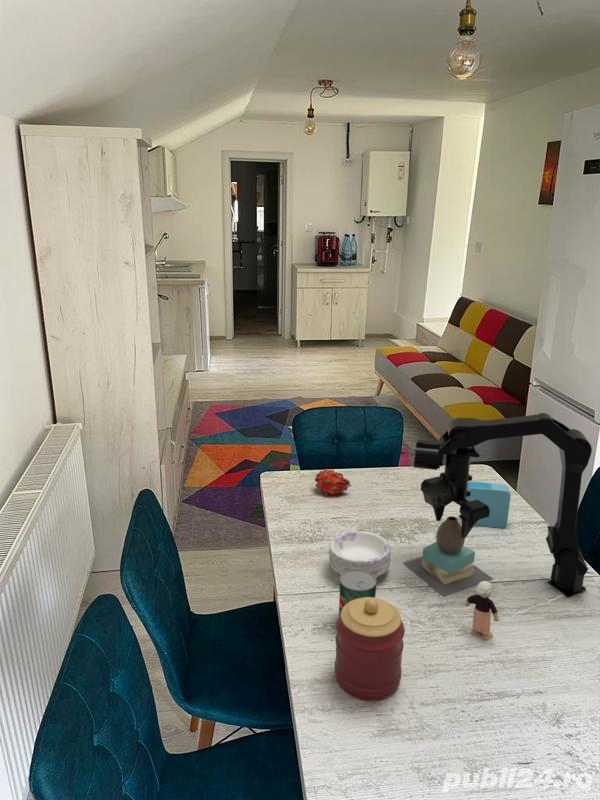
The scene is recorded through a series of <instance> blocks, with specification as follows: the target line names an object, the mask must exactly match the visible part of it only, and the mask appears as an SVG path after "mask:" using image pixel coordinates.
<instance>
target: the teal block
mask: <svg viewBox="0 0 600 800" xmlns="http://www.w3.org/2000/svg"><path fill="white" fill-rule="evenodd" d="M422 556H423V558H422V559H424V560H425V561H427V562H429V563H431V564H433V565H435V566H436V567H438V568H440V569H442V570H444V571H445V572H447V573H449V574H451V575H452V574H454V573H456V572H458V571H459V570H461V569H463V568H464V567H466V566H468V565H470V564H471V563H472V564H474V563H475V556H476V550H473V549H471V548H469V547H466V546H465V545H463V547H462V549H461V550H460V551H459V552H457V553H455V554H447V553H445V552H443V551H442V550H441V549H440V548H439V547H438V545H437V541H435V542H433V543H431V544H429V545H427V546H426V547H423V548H422Z"/></svg>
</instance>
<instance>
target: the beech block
mask: <svg viewBox="0 0 600 800" xmlns="http://www.w3.org/2000/svg"><path fill="white" fill-rule="evenodd" d="M421 557H422V558H423V555H421ZM474 565H475V564H474V563H471V564H470V565H468V566H466V567H464V568H463V569H461V570H459V571H458V572H456V573H454V574H452V575H451V574H449V573H447V572H445V571H444V570H442V569H440V568H438V567H436V566H435V565H433V564H431V563H429V562H427V561H425V560H424V559H422V567H423V568H424V569H426V570H427V571H428V572H429V573H431V574H432V575H433V576H434V577H436V578H437V579H438V580H439V581H441V582H442V583H443V584H444V585H446V584H449V583H452V582H455V581H458V580H461V579H464V578H467V577H470V576H473V571H474Z"/></svg>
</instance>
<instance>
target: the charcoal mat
mask: <svg viewBox="0 0 600 800" xmlns="http://www.w3.org/2000/svg"><path fill="white" fill-rule="evenodd" d="M402 564H403V565H404V566H405V567H407V568H408V570H409V571H411V572H412V573H414V574H415V575H416V576H418V577H419V578H420V579H421V580H422V581H423V582H425V584H426V585H428V586H429V587H430V588H432V589H433V590H434V591H435V592H437V593H438V594H439V595H440V596H442V597H443V598H444V597H448V596H451V595H453V594H455V593H459V592H462V591H463V590H464V591H465V590H466V589H469V588H473V587H475V586H476V587H477V585H478V584H479V583H480V582H482V581H488V582H490V581H494V577H491V575H488V574H487V573H486V572H485V571H483V570H481V568H479V567H477V566H476V565H475V564H474V571H473V576H470V577H467V578H464V579H461V580H458V581H455V582H452V583H449V584H446V585H444V584H443V583H442V582H441V581H439V580H438V579H437V578H436V577H434V576H433V575H432V574H431V573H429V572H428V571H427V570H426V569H424V568H423V567H422V556H420V557H417V558H414V559H410V560H407V561H403V562H402Z"/></svg>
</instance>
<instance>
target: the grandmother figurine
mask: <svg viewBox="0 0 600 800" xmlns="http://www.w3.org/2000/svg"><path fill="white" fill-rule="evenodd" d="M474 590H475V592H476V594H473V595H470V596H468V597H467V598H466V600H465V602H464V606H465V607H469V606H470V605H471V604H472V605H475V606H474V610H473V615H472V629H471V631H470V633H471V634H472V635H474V636H479V635H480V634H481V635H480V638H481V639H483V640H485V641H486V640H490V639H492V638H493V636H494V635H493V633H492V632H491V614H492V616H493V620H494V621H495V622H499V619H500V618H499V613H498V609H497V607H496V605H495V603H494V602H493V600H492V599H490V598H489V597H490V596H491V594H492V592H493V585H492V584H491V582H490V581H482V582H480V583H479V584H478V585H476V588H475V589H474Z"/></svg>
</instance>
